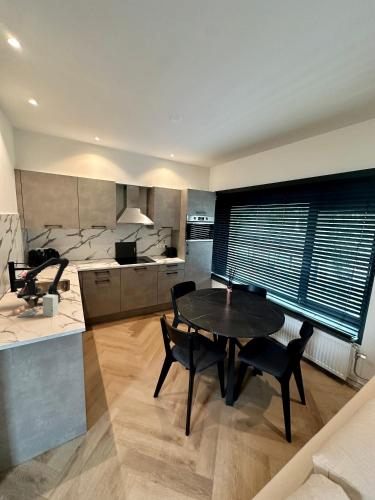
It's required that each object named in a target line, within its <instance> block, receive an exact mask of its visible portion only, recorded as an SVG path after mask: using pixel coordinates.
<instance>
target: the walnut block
mask: <svg viewBox="0 0 375 500" xmlns="http://www.w3.org/2000/svg"><path fill="white" fill-rule="evenodd" d="M28 303H29V305H28V309H33V307H38V304H37V305H36V306H35V303H34V298H30V300H29V301H28ZM28 303H27V304H28Z"/></svg>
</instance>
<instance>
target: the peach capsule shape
mask: <svg viewBox="0 0 375 500" xmlns="http://www.w3.org/2000/svg"><path fill="white" fill-rule="evenodd" d="M20 314H21V313H20V309H19V308H18V307H17V308H14V309H12V315H13V316H14V317H17V316H19V315H20Z"/></svg>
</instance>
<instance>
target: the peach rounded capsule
mask: <svg viewBox="0 0 375 500" xmlns="http://www.w3.org/2000/svg"><path fill="white" fill-rule="evenodd" d="M18 308H19V309H20V314H22V313H23V312H25V305H19V306H17V309H18Z"/></svg>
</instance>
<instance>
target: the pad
mask: <svg viewBox="0 0 375 500" xmlns="http://www.w3.org/2000/svg"><path fill="white" fill-rule="evenodd" d="M37 313H39V311H38V310H36V311H33V310H26V311H24V312H22V313H20V315H18V316H16V317H17V318H18V319H20V318H21V319H23V318H24V319H25V318H26V319H27V318H32V317H33V316H35V315H36V314H37Z"/></svg>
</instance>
